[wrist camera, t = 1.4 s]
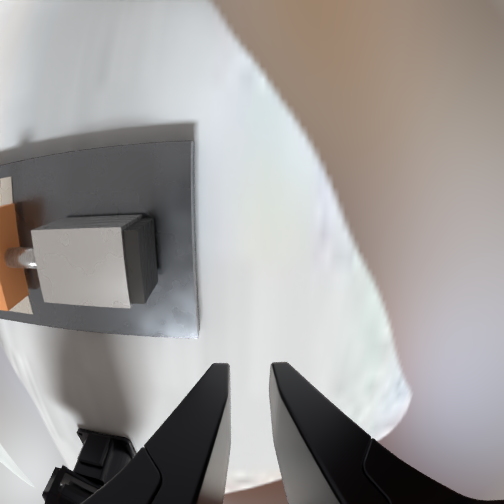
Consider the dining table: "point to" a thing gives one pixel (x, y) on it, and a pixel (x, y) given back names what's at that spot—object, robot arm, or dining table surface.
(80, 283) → the threaded rod block
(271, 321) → the dining table surface
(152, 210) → the gauge board
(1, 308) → the bar
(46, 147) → the dining table surface
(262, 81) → the dining table surface
